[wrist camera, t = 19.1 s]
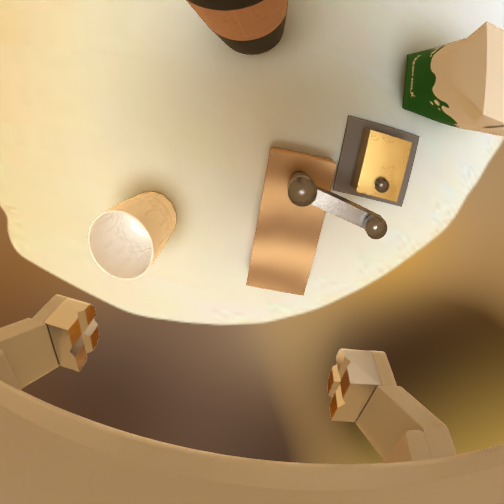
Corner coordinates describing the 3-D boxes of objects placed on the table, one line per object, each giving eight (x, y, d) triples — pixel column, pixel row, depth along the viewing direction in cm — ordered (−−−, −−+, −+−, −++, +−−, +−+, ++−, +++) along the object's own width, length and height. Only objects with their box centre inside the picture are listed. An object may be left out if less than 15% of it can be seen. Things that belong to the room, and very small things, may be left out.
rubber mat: (348, 115, 34) (349, 115, 33) (417, 136, 34) (419, 136, 33) (332, 189, 37) (333, 190, 37) (400, 205, 37) (401, 206, 37)
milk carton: (456, 130, 33) (567, 159, 14) (393, 113, 33) (491, 122, 15) (462, 67, 29) (572, 57, 11) (399, 45, 29) (493, 3, 11)
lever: (283, 192, 31) (283, 202, 28) (293, 168, 30) (295, 175, 27) (370, 231, 32) (379, 245, 29) (381, 209, 31) (392, 221, 28)
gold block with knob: (363, 128, 34) (372, 130, 30) (402, 140, 33) (414, 143, 30) (350, 185, 36) (357, 193, 33) (388, 195, 36) (398, 204, 33)
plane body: (271, 146, 36) (269, 153, 30) (330, 158, 36) (341, 168, 30) (249, 270, 43) (243, 297, 36) (301, 279, 43) (304, 308, 36)
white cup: (175, 182, 39) (143, 205, 30) (186, 242, 42) (161, 279, 33) (120, 191, 40) (79, 215, 31) (133, 246, 43) (99, 281, 34)
